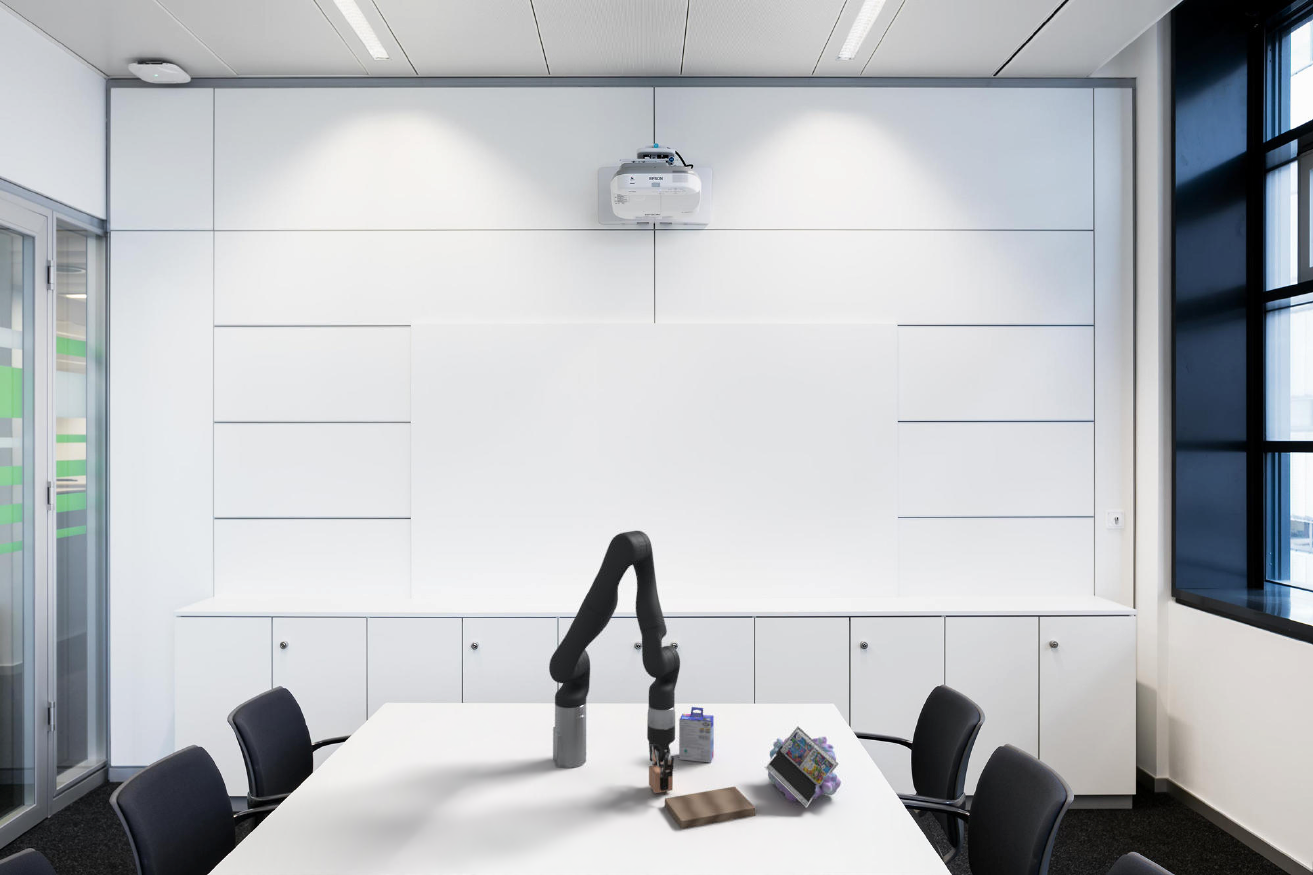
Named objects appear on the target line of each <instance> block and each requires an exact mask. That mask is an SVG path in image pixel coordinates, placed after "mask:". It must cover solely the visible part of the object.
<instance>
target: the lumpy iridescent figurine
mask: <svg viewBox="0 0 1313 875" xmlns="http://www.w3.org/2000/svg"><path fill="white" fill-rule="evenodd" d="M769 757H770V759H769V761H768V762H767V763H766V764H765V766H764V768H765V770H766V771H767V776H768V780H769V781H770V783H772V785H774V786H776V787H777V789H778V790H779V791H780V792H782V793H784V796H785V798H786V800H788V801H789V802H796V801H798V802H800V803H801V804H802V806H804V807H805V808H807V807H808V806H809V805H810V804H811V802H812V801H813V800H814V799H817V798H818V797H819V796H822V795H826V796H832V795H835V794H836V793H837V790H838V789H839V788H840V786H841V784H842V781H841V779H840V778H838V775H837V773H836V772H834V771H835V770H836V768H837V767H838V766H839V762H838V761H837V756H836V752H835V751H834V746H833V744H831V743H830V744H829V743H828V739H827V736H819V737H814V738H811V737H810V735H808V734H807V733H806V732H805V731H804V730H803V729H801V727H800V726H797V727H796V728H795V729H794V730H793V731H792V732H791V734H790V735H789V736H788V737H787V738H785V739H784V741H783V739H781V738H777V739H776V741H774V742H773V748H772V749H771V750H770V751H769Z"/></svg>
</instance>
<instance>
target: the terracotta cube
mask: <svg viewBox="0 0 1313 875" xmlns="http://www.w3.org/2000/svg"><path fill="white" fill-rule="evenodd" d="M662 769H663V768H662ZM673 778H674V776H673V774H672V777H669V787H668V790H664V791H661V789H660V769H659V767H658V766H657V765H654V766H652V765H649V766H648V785H649V787H650V788H651V790H652V791H653V793H655V794H656V793H663V792H670V791H671V792H672V791H673V788H674V787H673V785H674V784H673V782H674V781H673Z"/></svg>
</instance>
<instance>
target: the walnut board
mask: <svg viewBox="0 0 1313 875" xmlns="http://www.w3.org/2000/svg"><path fill="white" fill-rule="evenodd" d="M664 807H665V809H666V810H667V811H668V813H669V814H670V816H671V817H672V818H673V819H674V821H675V822H676V824H677V825H678V826H679V828H680V829H681V830H684V829H691V828H695V827H701V826H706V825H707V826H708V825H711V824H717V823H722V822H727V821H734V820H738V819H745V818H750V817H755V816H756V807H755V806H754V805H753V804H752V803H751V801H749V800H748V799H747V797H746V796H745V795H744V794H743V793H742V792H741V791H740V790H739V789H738V788H737V787H736V786H728V787H723V788H719V789H718V788H717V789H712V790H706V791H700V792H694V793H688V794H684V795H676V796H670V797H667V798H666V797H665V798H664Z"/></svg>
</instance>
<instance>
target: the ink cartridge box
mask: <svg viewBox="0 0 1313 875" xmlns="http://www.w3.org/2000/svg"><path fill="white" fill-rule="evenodd" d="M696 710H697V711H699V712H694V711H696ZM714 717H715V716H714V715H711V714H704V708H703V707H696V706H691V710H690V713H682V714H681V716H680V718H679V720H678V721H679V724H678V727H679V728H678V729H679V730H678V732H679V733H678V737H679V738H678V740H679V741H678V742H679V744H678V746H679V748H678V751H679V752H678V760H681V761H690V762H691V761H692V762H701V763H712V761H713V759H714V755H715V754H714V753H715V751H714V747H715V746H714V742H715V741H714V739H715V738H714V736H715V735H714V734H715V733H714V730H715V729H714V724H715V723H714V719H715V718H714Z"/></svg>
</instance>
